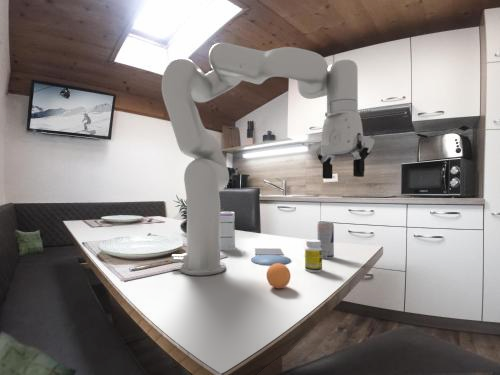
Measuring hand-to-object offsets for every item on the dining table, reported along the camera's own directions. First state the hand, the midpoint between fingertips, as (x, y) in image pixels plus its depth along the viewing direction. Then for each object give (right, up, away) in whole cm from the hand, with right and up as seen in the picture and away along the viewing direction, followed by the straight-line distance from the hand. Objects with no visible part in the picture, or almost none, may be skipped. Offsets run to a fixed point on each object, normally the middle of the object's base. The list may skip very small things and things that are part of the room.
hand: (342, 177), depth 67 cm
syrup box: (-33, -27, +35) cm, 55 cm away
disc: (-17, -26, +18) cm, 36 cm away
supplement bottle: (-6, -26, +7) cm, 28 cm away
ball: (-17, -23, -7) cm, 29 cm away
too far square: (-17, -27, +30) cm, 44 cm away
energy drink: (+2, -27, +22) cm, 35 cm away
